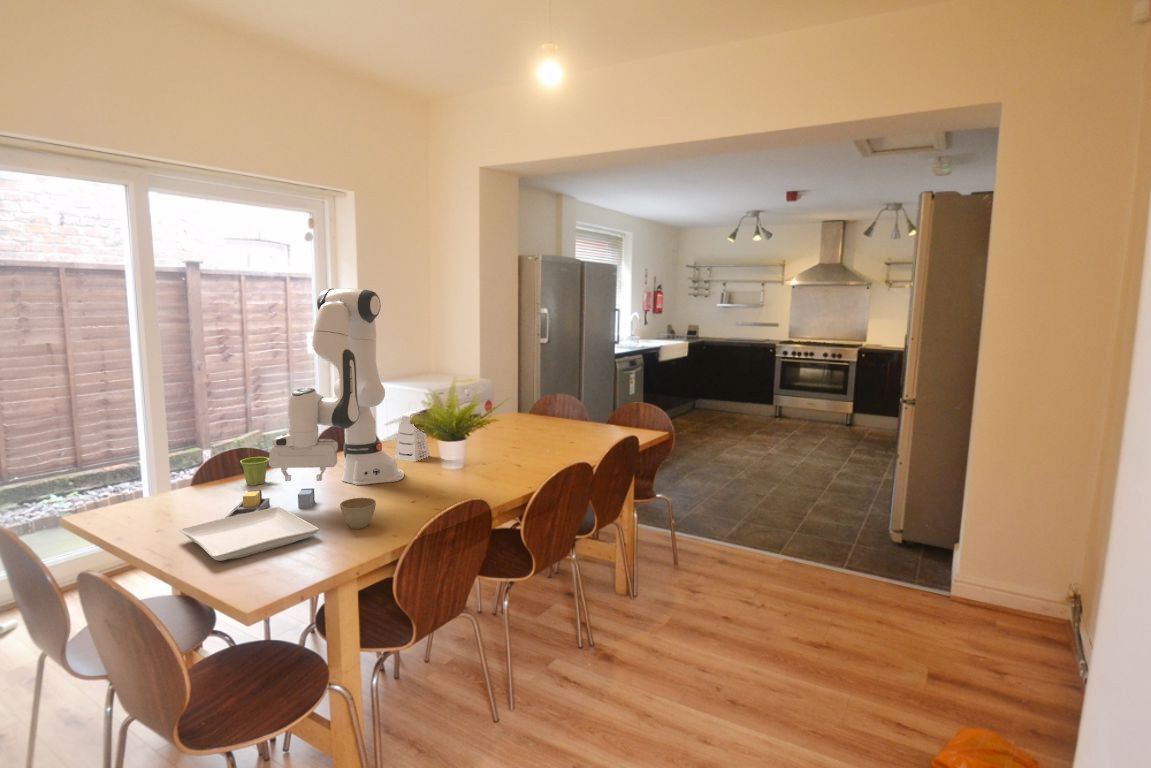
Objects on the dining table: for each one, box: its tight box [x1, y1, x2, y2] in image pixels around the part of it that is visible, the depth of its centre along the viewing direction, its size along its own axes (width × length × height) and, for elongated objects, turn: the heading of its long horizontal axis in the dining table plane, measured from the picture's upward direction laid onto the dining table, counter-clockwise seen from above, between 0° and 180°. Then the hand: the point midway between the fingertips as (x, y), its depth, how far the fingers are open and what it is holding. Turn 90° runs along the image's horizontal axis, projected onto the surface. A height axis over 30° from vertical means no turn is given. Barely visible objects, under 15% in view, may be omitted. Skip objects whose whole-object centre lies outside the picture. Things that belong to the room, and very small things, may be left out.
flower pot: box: [339, 497, 377, 530], centre depth 178 cm, size 10×10×7 cm
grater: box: [394, 410, 431, 463], centre depth 258 cm, size 10×10×20 cm
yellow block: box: [242, 489, 263, 507], centre depth 191 cm, size 4×6×5 cm, turn 12°
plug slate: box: [297, 487, 316, 509], centre depth 197 cm, size 4×6×5 cm, turn 12°
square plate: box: [179, 506, 320, 561], centre depth 167 cm, size 27×27×4 cm
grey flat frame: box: [224, 497, 270, 518], centre depth 187 cm, size 8×18×2 cm, turn 12°
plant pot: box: [239, 456, 269, 486], centre depth 220 cm, size 9×9×9 cm
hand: (303, 480), depth 195 cm, fingers open, 8 cm apart
